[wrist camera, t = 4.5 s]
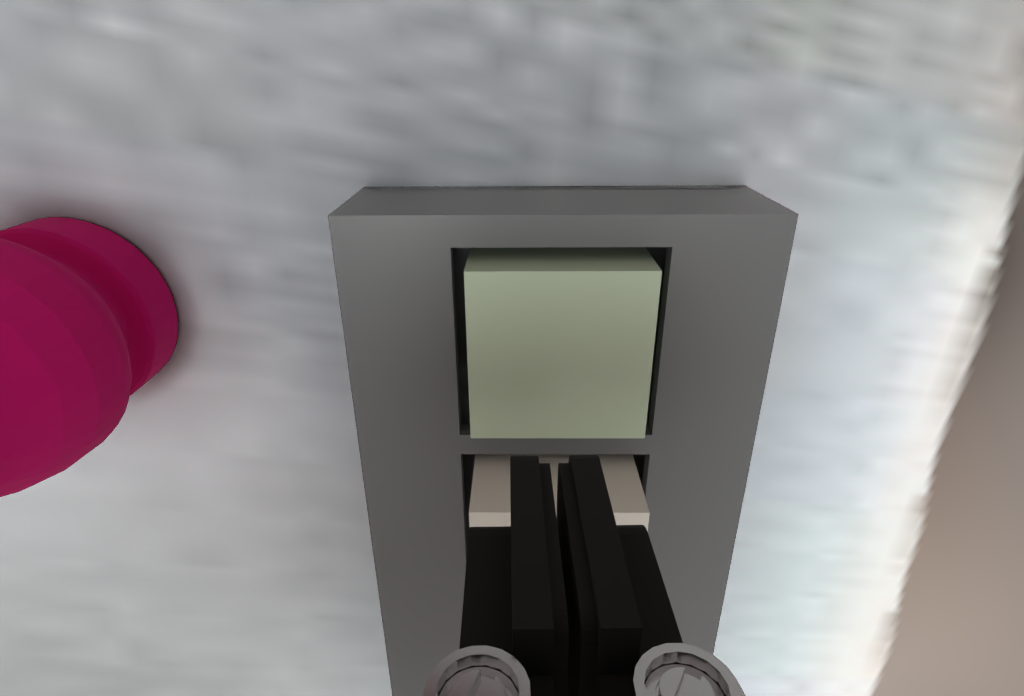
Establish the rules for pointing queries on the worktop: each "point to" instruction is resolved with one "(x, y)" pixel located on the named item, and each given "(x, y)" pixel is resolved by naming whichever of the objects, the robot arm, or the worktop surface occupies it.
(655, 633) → the robot arm
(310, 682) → the worktop surface
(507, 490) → the key white mid
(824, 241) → the worktop surface
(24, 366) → the pepper mill
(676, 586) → the keypad
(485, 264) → the key sage
